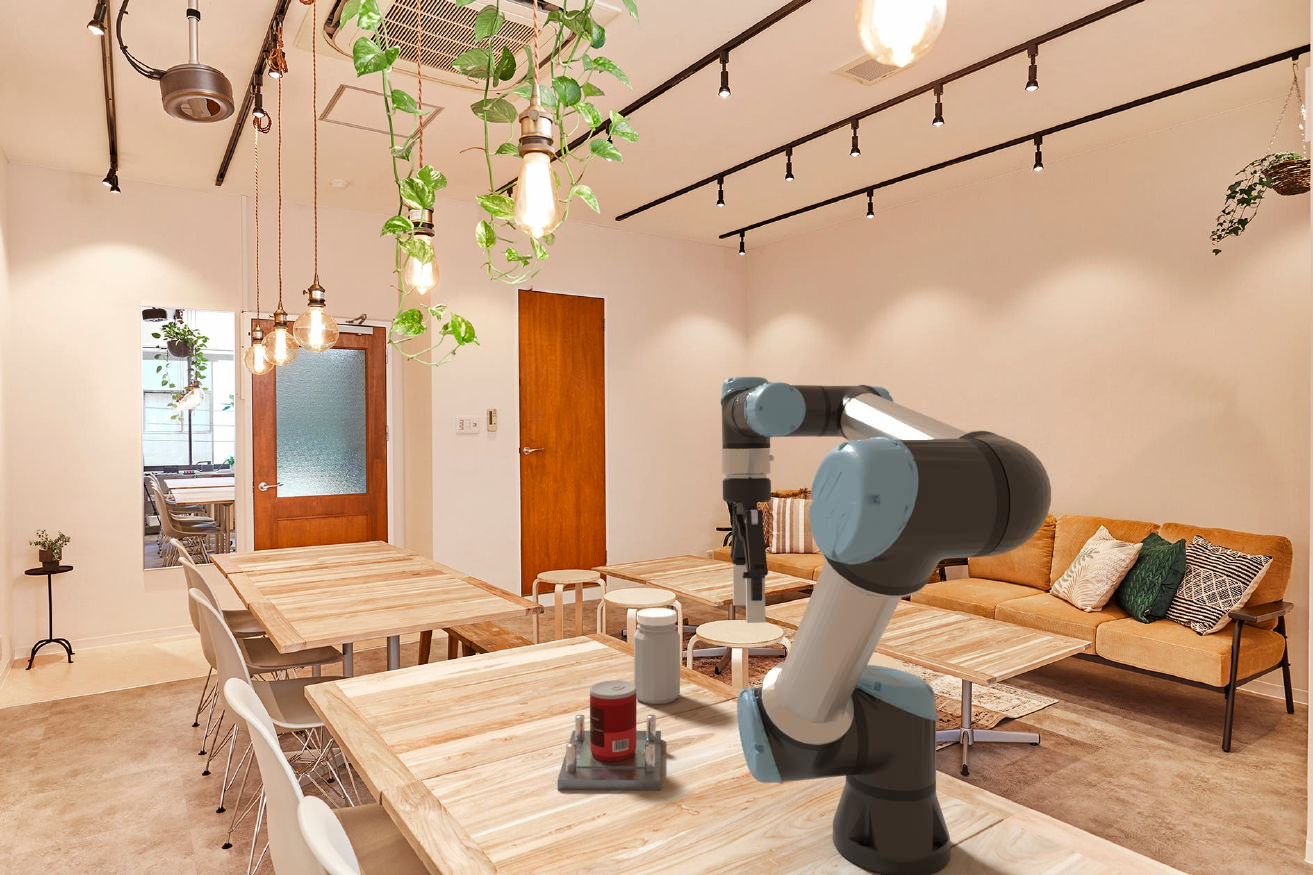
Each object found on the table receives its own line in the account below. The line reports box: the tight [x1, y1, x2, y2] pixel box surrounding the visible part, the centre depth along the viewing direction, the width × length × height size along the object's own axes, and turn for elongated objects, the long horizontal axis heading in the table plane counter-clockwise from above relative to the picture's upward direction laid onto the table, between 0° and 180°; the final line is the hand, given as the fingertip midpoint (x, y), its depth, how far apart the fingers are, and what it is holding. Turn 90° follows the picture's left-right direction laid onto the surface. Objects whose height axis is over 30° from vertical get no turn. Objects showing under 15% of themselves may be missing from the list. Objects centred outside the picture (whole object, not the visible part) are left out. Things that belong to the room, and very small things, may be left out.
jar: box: [633, 607, 681, 705], centre depth 162 cm, size 10×10×18 cm
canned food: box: [589, 679, 638, 761], centre depth 130 cm, size 8×8×11 cm
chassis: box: [557, 714, 662, 791], centre depth 130 cm, size 20×16×6 cm
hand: (748, 613), depth 120 cm, fingers open, 13 cm apart
